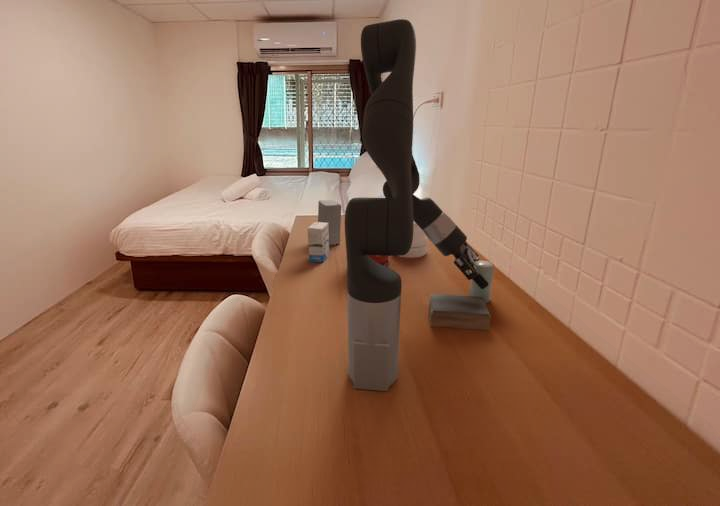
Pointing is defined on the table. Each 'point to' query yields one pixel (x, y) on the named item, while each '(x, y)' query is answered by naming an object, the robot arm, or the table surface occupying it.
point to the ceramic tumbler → (487, 272)
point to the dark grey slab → (458, 312)
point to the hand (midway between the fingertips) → (485, 280)
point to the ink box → (318, 242)
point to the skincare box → (331, 219)
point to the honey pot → (417, 243)
